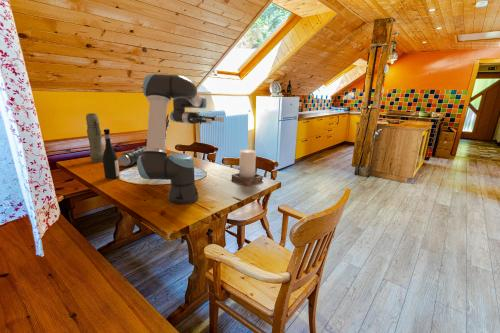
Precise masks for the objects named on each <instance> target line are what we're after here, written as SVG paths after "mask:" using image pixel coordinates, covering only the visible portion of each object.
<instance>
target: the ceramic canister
mask: <svg viewBox="0 0 500 333" xmlns="http://www.w3.org/2000/svg"><path fill="white" fill-rule="evenodd" d="M256 161H257V151H256V150H254V149H240V150H239V166H238V167H239V169H238V171H239V172H238V173H239V177H241V178H243V179H246V180H248V179H252V178H255V173H256V165H257V164H256Z"/></svg>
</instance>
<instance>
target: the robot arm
mask: <svg viewBox="0 0 500 333" xmlns="http://www.w3.org/2000/svg"><path fill="white" fill-rule="evenodd" d="M143 79H144V80H143V81H142V82H143V83H142V89H143V90H142V92H143V95H144V96H145V97H146V100H147V101H148V102H149V103H148V104H149V105H148V107H149V108H148V120H147V121H148V122H147V135H146V136H147V137H146V145H145V147H146V149H145V150H144V151H143V155H141V156H139V157H138V160H137V162H136V165H137V166H136V167H137V171H138V174H139V177H141V179H144V180H162V181H163V180H168V181H170V187H169V190H168V195H167V198H168V199H167V200H168V202H169V203H171V204H174V205H189V204H192V203H195V202H196V201H198V199H199V191H198V189H197V187H196V185H195V161H194V157H193V156H192V155H190V154H187V153H183V152H173V153H169V156H168V152H167V151H166V150H165V147H166V146H165V145H166V135H167V134H166V132H167V131H166V130H167V117H168V116H167V114H168V105H169V104H170V103H171V100H172V106H173V107H172V108H173V110H172V111H171V112H170V113H169V114H170V115H169V118H170V120H171V121H172V122H175V123H182V124H183V123H184V124H186V125H188V124H191V125H192V124H193V125H196V124H200V125H202V124H208V125H210V124H211V125H212V123H213V122H212V121H214V122H220V123H224V117H222V116H221V117H220V116H216V115H213V116H211V115H210V116H208V115H199V114H198V113H197V112H195V111H194V112H192V111H185V110H186V109H206V108H207V104H208V103H207V102H208V101H207V97H205V96H201V95H200V94H199V93H198V88H197V86H196V84H195V83H194V82H193V81H192V80H190V79H188V78H187V77H185V76H182V75H179V74H166V73H165V74H163V73H162V74H161V73H149V74H147V75H146V76H145V77H144V78H143Z"/></svg>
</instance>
